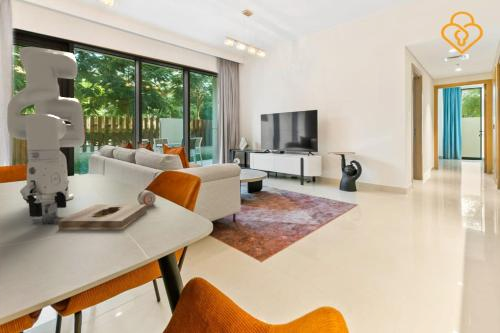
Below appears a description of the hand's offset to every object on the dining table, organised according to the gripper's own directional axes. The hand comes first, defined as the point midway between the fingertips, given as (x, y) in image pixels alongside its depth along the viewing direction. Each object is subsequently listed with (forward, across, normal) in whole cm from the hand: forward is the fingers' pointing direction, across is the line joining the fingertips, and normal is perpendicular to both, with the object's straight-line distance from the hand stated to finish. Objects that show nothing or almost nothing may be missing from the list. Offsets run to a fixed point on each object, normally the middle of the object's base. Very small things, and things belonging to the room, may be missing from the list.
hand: (49, 211), depth 78 cm
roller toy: (+4, +20, -22) cm, 30 cm away
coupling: (+4, 0, 0) cm, 4 cm away
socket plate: (+4, +3, -16) cm, 16 cm away
